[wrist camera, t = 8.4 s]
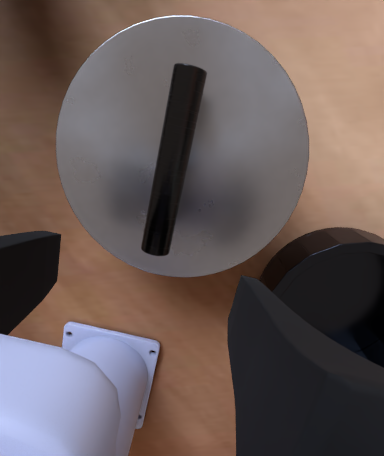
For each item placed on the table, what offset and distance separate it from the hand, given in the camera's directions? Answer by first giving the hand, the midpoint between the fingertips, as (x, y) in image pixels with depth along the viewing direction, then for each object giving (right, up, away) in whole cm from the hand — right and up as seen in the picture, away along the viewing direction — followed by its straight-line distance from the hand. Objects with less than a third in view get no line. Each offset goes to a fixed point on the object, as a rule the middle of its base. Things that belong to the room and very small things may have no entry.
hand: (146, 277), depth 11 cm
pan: (+12, -3, +11) cm, 17 cm away
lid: (+1, +5, +3) cm, 6 cm away
